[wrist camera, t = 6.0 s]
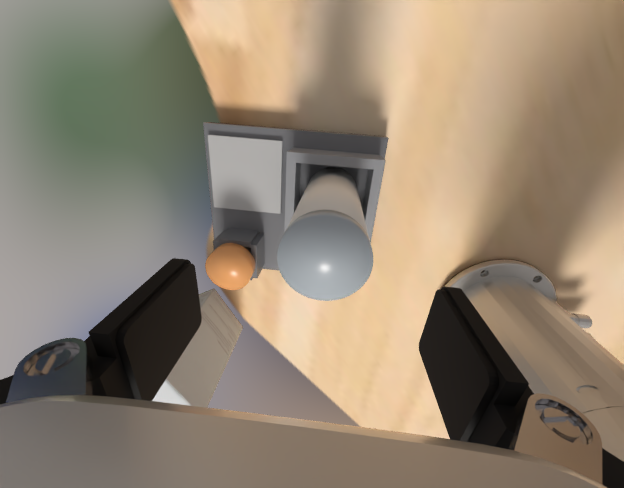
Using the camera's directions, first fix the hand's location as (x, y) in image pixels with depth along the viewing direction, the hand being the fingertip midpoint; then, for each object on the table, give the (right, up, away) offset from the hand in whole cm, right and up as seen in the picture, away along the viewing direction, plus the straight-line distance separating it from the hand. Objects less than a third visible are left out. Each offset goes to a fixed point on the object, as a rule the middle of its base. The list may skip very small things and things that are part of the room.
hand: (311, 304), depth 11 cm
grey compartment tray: (-2, +7, +19) cm, 20 cm away
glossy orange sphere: (-8, +2, +19) cm, 21 cm away
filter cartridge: (+2, +7, +16) cm, 18 cm away
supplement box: (-14, -7, +27) cm, 31 cm away
